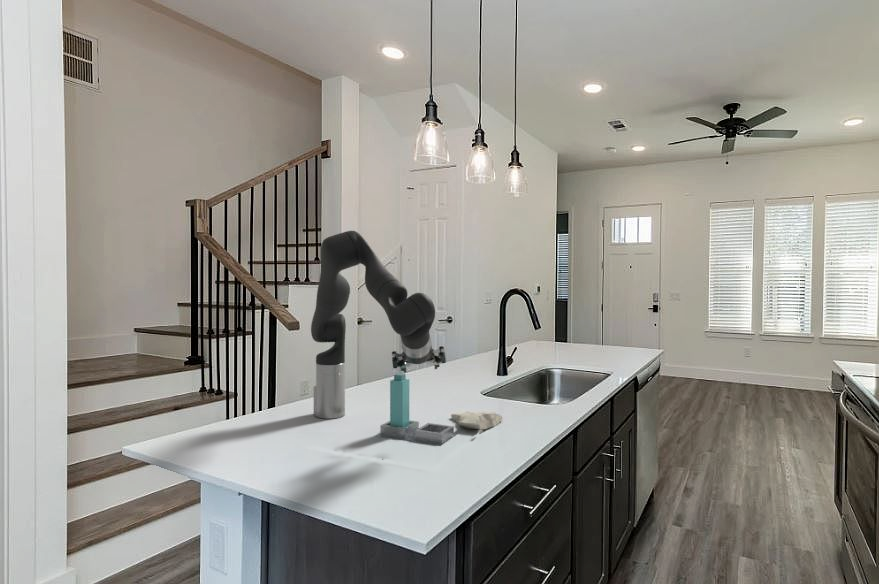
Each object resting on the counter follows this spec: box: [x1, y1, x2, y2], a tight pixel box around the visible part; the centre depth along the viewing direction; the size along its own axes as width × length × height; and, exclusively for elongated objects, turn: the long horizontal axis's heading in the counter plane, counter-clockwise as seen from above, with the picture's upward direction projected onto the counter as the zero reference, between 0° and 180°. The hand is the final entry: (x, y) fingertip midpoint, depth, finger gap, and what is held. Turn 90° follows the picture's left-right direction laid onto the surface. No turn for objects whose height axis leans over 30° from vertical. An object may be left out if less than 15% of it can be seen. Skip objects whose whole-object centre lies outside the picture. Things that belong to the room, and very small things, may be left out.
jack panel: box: [375, 419, 459, 447], centre depth 146 cm, size 20×12×4 cm, turn 65°
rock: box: [450, 411, 504, 431], centre depth 159 cm, size 21×5×15 cm
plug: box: [389, 373, 410, 428], centre depth 148 cm, size 4×4×17 cm
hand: (420, 367), depth 145 cm, fingers open, 8 cm apart
